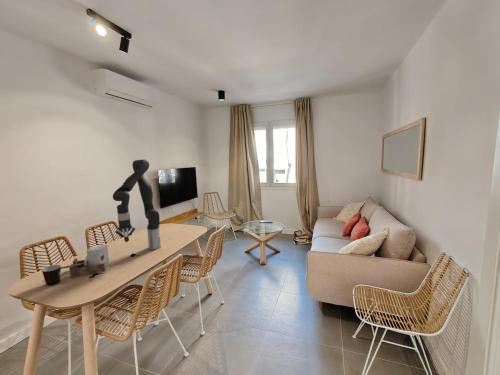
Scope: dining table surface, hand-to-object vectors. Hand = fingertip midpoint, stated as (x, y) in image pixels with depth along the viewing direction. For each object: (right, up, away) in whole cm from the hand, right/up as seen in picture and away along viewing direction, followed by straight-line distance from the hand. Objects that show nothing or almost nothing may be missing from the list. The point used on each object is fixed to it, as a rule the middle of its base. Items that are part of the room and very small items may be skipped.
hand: (126, 241), depth 160 cm
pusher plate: (-29, -17, -13) cm, 36 cm away
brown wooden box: (-20, -17, -8) cm, 28 cm away
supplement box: (-16, -17, -6) cm, 24 cm away
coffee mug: (-31, -20, -26) cm, 45 cm away
